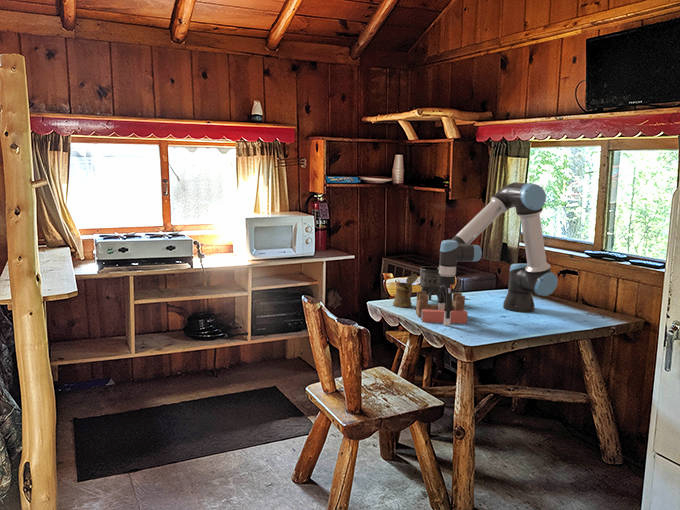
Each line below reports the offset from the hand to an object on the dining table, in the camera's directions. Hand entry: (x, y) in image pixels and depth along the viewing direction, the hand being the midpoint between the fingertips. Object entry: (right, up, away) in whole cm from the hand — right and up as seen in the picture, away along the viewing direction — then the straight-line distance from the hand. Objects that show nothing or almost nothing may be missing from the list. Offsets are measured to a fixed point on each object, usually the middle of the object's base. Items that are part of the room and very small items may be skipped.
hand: (443, 321), depth 267 cm
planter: (0, +5, +37) cm, 37 cm away
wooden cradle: (0, +1, +10) cm, 10 cm away
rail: (0, 0, 0) cm, 0 cm away
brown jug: (-15, +4, +25) cm, 29 cm away
